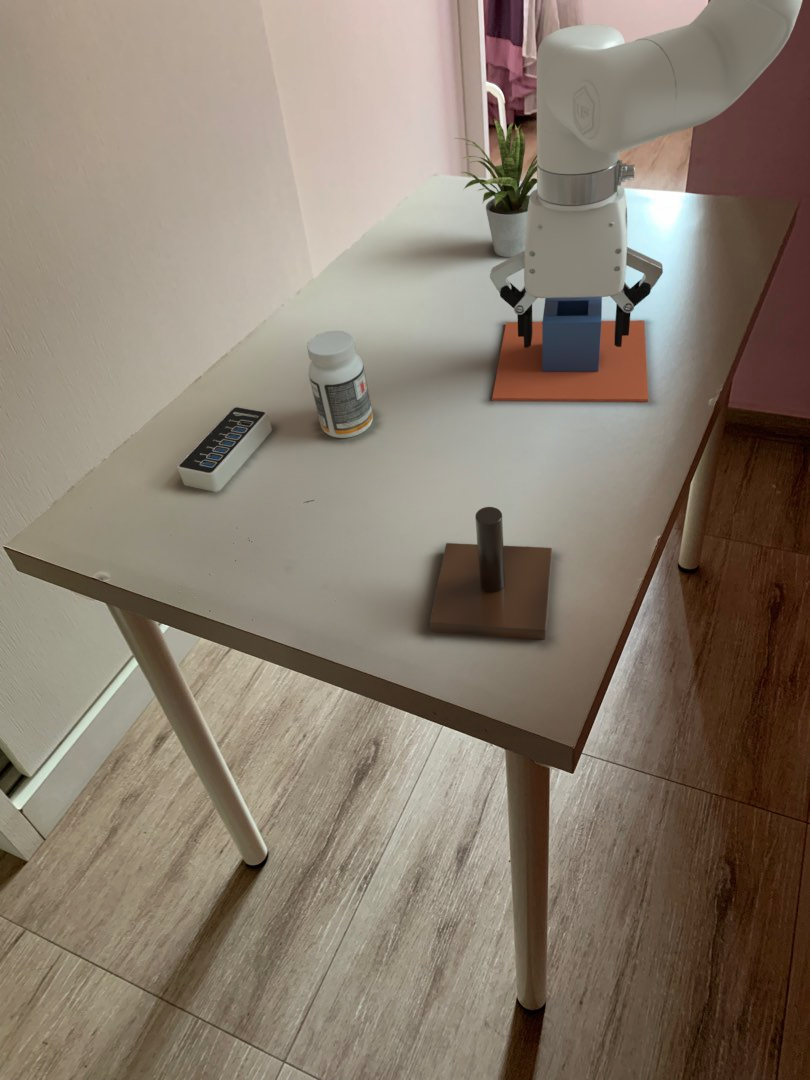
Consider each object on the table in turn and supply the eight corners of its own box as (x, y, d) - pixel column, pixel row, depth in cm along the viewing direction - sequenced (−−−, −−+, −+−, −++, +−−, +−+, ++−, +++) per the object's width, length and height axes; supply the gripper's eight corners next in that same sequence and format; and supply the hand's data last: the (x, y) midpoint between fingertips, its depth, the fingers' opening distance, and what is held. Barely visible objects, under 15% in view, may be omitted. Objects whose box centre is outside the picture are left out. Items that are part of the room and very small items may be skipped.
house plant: (443, 238, 117) (433, 117, 106) (532, 217, 119) (531, 96, 108) (476, 279, 107) (469, 149, 96) (574, 255, 109) (577, 125, 97)
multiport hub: (182, 485, 82) (175, 467, 80) (239, 423, 89) (234, 405, 87) (218, 493, 80) (211, 475, 79) (273, 429, 87) (268, 411, 86)
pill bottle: (381, 411, 87) (367, 329, 80) (362, 443, 83) (346, 359, 77) (333, 406, 89) (316, 325, 82) (312, 437, 85) (292, 355, 78)
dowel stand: (551, 557, 69) (552, 478, 63) (545, 640, 62) (546, 561, 56) (447, 552, 70) (438, 475, 65) (430, 632, 64) (419, 554, 58)
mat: (644, 323, 94) (644, 320, 94) (648, 402, 83) (648, 399, 83) (506, 325, 97) (506, 322, 97) (492, 401, 86) (492, 398, 86)
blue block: (599, 343, 91) (602, 293, 87) (598, 372, 87) (601, 321, 83) (545, 343, 93) (545, 294, 88) (542, 372, 88) (542, 322, 84)
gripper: (670, 161, 77) (653, 322, 89) (490, 170, 81) (496, 324, 93) (674, 191, 72) (656, 359, 84) (481, 200, 76) (489, 359, 88)
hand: (572, 340), depth 88 cm, fingers open, 9 cm apart
